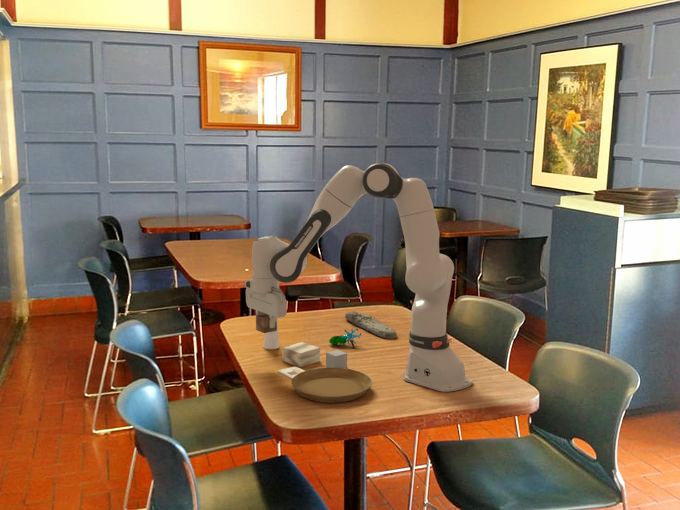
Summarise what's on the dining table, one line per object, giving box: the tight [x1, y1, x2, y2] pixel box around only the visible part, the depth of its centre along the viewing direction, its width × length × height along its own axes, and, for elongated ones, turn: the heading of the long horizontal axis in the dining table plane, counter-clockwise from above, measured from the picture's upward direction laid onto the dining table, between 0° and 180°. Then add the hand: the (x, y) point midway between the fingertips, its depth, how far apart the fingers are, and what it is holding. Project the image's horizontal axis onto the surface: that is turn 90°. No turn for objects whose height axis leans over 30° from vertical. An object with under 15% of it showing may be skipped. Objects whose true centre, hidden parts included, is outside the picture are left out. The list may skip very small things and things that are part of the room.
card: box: [277, 365, 305, 380], centre depth 217 cm, size 10×7×1 cm
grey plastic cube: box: [325, 349, 348, 369], centre depth 224 cm, size 5×5×5 cm
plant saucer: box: [291, 367, 373, 404], centre depth 204 cm, size 24×24×3 cm
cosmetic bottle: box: [262, 321, 281, 350], centre depth 243 cm, size 6×6×22 cm
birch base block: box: [281, 341, 321, 368], centre depth 230 cm, size 9×9×5 cm
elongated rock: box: [344, 310, 398, 340], centre depth 273 cm, size 35×5×10 cm
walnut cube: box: [255, 313, 278, 334], centre depth 225 cm, size 5×5×5 cm
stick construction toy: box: [328, 328, 362, 349], centre depth 247 cm, size 12×7×8 cm
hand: (266, 325), depth 225 cm, fingers closed on walnut cube, 5 cm apart
